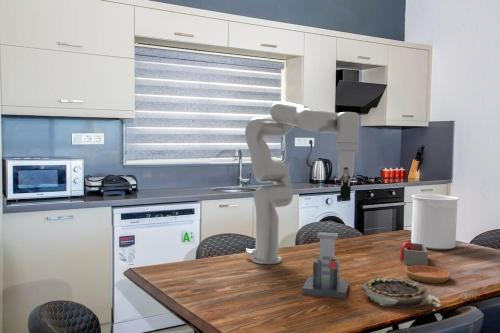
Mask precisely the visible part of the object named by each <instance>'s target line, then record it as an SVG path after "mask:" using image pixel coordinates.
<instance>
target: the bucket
mask: <svg viewBox="0 0 500 333" xmlns="http://www.w3.org/2000/svg"><path fill="white" fill-rule="evenodd" d="M411 197H412V214H411V215H412V217H411V238H410V243H418V244H424V245H425V247H426V249H427V250H430V251H450V250H454V249H455V248H456V238H457V237H456V236H457V219H458V218H457V217H458V216H457V215H458V214H457V213H458V201H459V200H460V198H459V197H458V196H457V197H456V196H454V195H453V196H452V195H445V194H433V193H432V194H431V193H429V194H427V193H423V194H422V193H417V194H412V195H411Z"/></svg>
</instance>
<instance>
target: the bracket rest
mask: <svg viewBox="0 0 500 333" xmlns="http://www.w3.org/2000/svg"><path fill="white" fill-rule="evenodd" d="M405 242H406V241H405ZM405 242H402V245H403V244H404V243H405ZM412 244H413V247H414V251H413V250H408V247H407V248H404V262H403V265H404V264H405V266H415V265H420V266H428V257H429V256H428V255H429V254H428V253H429V252H428V249H426V247H425V245H424V244H418V243H412Z"/></svg>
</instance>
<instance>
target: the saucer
mask: <svg viewBox="0 0 500 333" xmlns="http://www.w3.org/2000/svg"><path fill="white" fill-rule="evenodd" d="M405 273H406V275H407V276H408V277H409V278H410V279H412V280H414V281H416V282H420V281H421V283H425V284H427V283H428V284H442V283H445V282H446V281H448V280H450V278H451V275H452V274H451V273H450V271H448V270H445V269H443V268H439V267H435V266H432V265H431V266H429V265H427V266H420V265H407V266H406V267H405Z"/></svg>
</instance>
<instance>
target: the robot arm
mask: <svg viewBox="0 0 500 333" xmlns="http://www.w3.org/2000/svg"><path fill="white" fill-rule="evenodd" d="M269 115H270V117H268V116H267V117H266V116H265V117H264V116H257V117H253V118H251V119H250V120H249V121H248V122H247V123H246V126H245V130H244V131H245V132H244V136H245V137H244V138H245V141H246V144H247V148H248V150H249V156H250V161H251V166H252V172H253V176H254V177H253V178H254V179H255V181H256V182H258V183H262V184H263V183H273V184H268V185H267V184H266V185H262V186H259V187H258V188H257V189H256V190H255V192H254V194H253V200H254V206H255V248H253V249H251V248H246V249H245V254H246V255H252V256H251V262H253V263H256V264H259V265H260V264H261V265H262V264H263V265H275V264H279V263H281V262H282V261H283V260H282V257H281V256H279V233H280V232H279V230H280V228H279V226H280V219H279V214H278V211H277V210H276V208H281V207H282V208H283V207H287V206H289V205H290V204H291V203H292V201H293V197H294V195H293V192H294V191H293V187H292V180H291V177H290V176H291V175H290V170H289V168H288V166H287V164H286V163H285V162H284V161H283V160H281V159H280V160H279V159H272V155H271V150H270V147H269V145H268V143H267V142H266V141H265V140H264V138H271V139H274V138H275V139H278V138H282V137H284V136H286V135H287V134H289V132H290V131H291V130H292V129H294V128H295V127H296V128H299V129H302V130H304V131H309V132H313V133H320V134H336V147H335V151H336V153H337V152H339V153H338V161H337V162H338V163H337V168H338V169H337V181H340V180H341V182H340V183H341V185H340V196H339V197H340V199H350V198H351V191H352V190H351V187H352V184H351V181H352V180H353V176H354V171H355V170H354V168H355V153H358V152H359V139H360V138H359V137H360V115H359V113H358V112H353V111H343V112H332V111H331V112H330V111H321V110H315V109H314V110H313V109H310V108H308V106H307V105H302V104H299V103H297V102H293V101H277V102H275V103H272V105H271V106H270V108H269Z"/></svg>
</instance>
